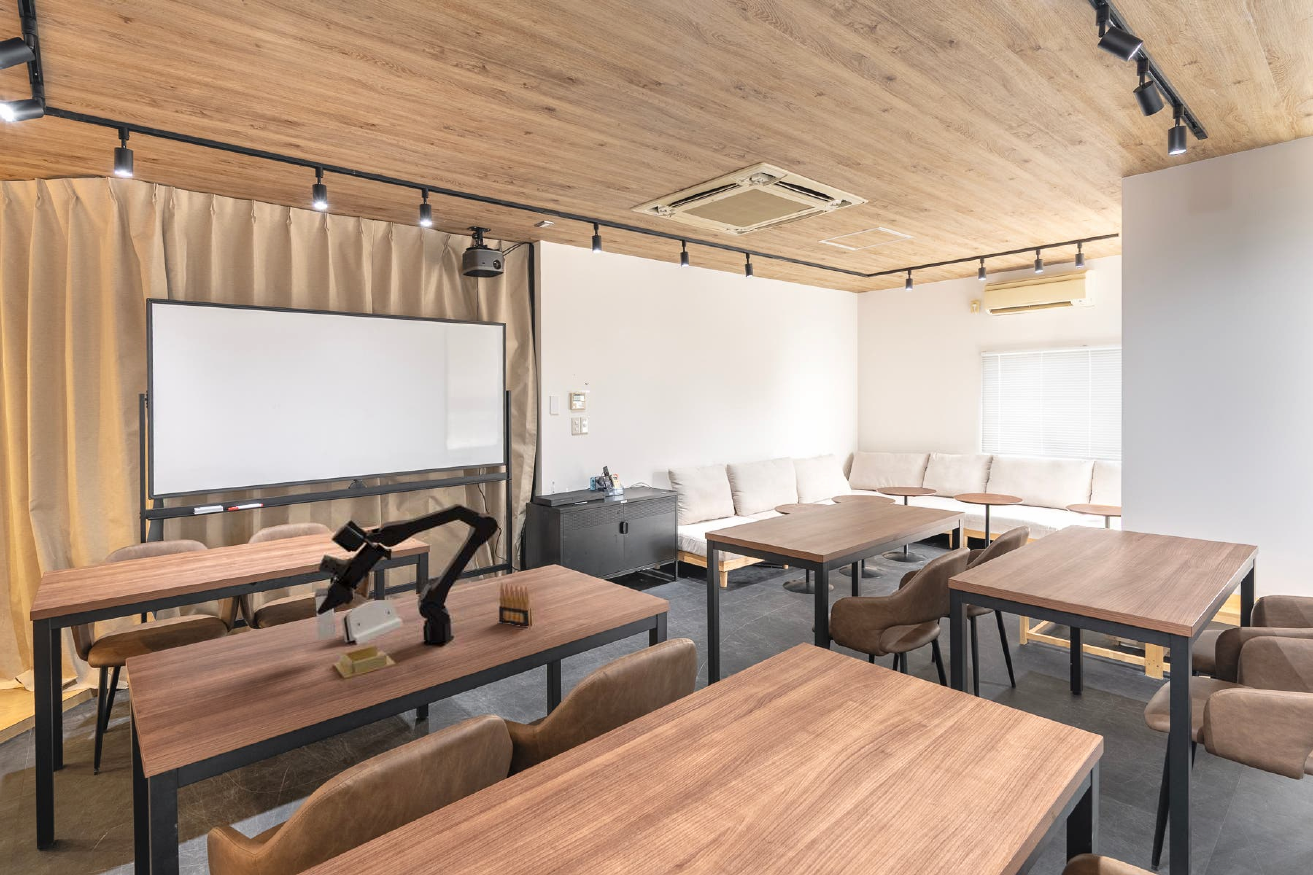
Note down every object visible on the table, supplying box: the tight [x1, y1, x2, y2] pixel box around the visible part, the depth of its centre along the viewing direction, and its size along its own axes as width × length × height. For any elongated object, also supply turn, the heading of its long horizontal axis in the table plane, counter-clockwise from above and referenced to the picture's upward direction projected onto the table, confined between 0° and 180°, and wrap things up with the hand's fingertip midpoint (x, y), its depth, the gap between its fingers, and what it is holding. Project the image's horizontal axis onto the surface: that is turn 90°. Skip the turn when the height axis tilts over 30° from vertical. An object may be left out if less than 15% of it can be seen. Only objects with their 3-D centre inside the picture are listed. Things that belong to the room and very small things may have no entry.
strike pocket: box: [333, 644, 396, 679], centre depth 164 cm, size 12×11×3 cm
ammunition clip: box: [498, 583, 533, 627], centre depth 191 cm, size 11×2×12 cm, turn 65°
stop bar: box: [314, 587, 336, 640], centre depth 167 cm, size 4×5×12 cm
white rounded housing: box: [341, 599, 404, 645], centre depth 187 cm, size 17×5×10 cm, turn 154°
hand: (319, 610), depth 167 cm, fingers closed on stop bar, 5 cm apart
